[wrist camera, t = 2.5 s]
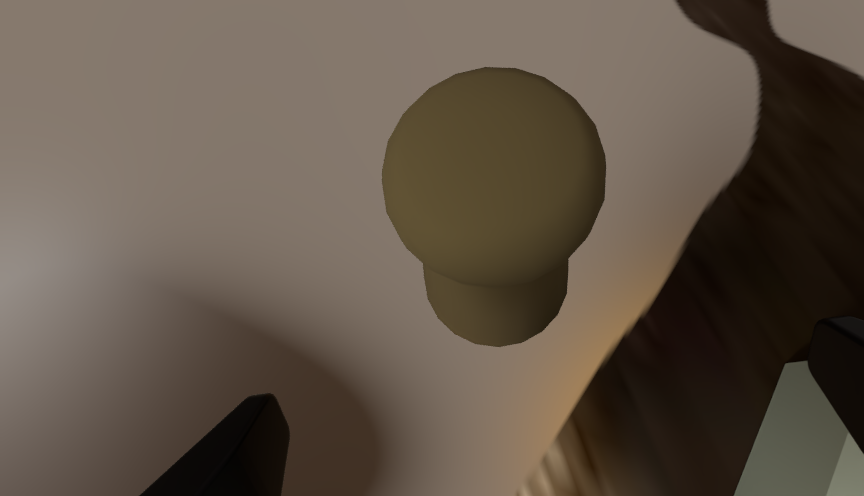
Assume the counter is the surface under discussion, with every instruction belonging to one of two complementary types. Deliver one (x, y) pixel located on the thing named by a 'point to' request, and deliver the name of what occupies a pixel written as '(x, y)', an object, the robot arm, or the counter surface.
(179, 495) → the robot arm
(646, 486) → the counter surface
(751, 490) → the end cap socket
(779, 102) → the counter surface
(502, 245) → the cork
